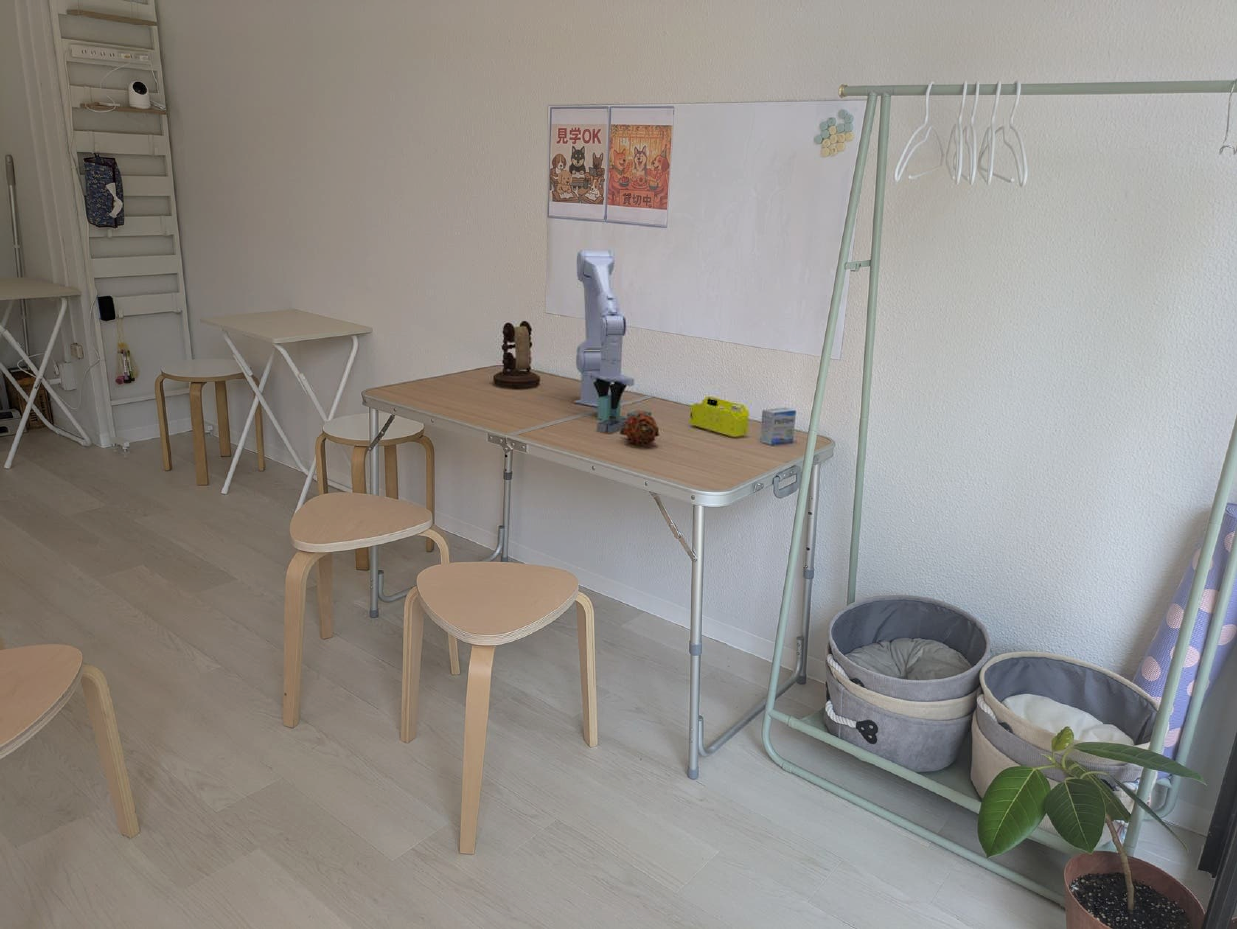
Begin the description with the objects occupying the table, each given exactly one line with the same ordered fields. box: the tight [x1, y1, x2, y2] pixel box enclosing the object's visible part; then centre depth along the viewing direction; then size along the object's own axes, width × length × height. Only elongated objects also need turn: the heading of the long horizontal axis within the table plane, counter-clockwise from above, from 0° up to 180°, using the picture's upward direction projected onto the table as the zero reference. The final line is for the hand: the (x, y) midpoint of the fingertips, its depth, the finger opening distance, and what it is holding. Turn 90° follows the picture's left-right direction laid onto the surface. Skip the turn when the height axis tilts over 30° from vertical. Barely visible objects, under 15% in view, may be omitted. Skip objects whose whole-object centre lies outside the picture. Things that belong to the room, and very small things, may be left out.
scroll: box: [492, 320, 541, 390], centre depth 289 cm, size 15×15×20 cm
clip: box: [596, 394, 622, 421], centre depth 256 cm, size 7×3×6 cm, turn 146°
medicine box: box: [759, 407, 797, 446], centre depth 239 cm, size 8×4×9 cm, turn 122°
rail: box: [596, 409, 652, 435], centre depth 249 cm, size 20×4×2 cm, turn 146°
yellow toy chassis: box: [689, 395, 750, 438], centre depth 246 cm, size 16×6×8 cm, turn 44°
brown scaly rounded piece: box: [619, 413, 660, 446], centre depth 232 cm, size 8×8×12 cm
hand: (609, 407), depth 256 cm, fingers closed on clip, 3 cm apart
